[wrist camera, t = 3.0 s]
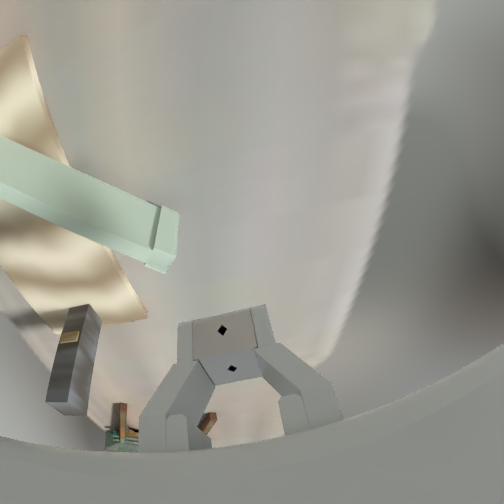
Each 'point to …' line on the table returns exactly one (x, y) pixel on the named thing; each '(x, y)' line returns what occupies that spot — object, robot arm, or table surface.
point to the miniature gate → (130, 439)
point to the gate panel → (88, 206)
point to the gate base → (56, 249)
